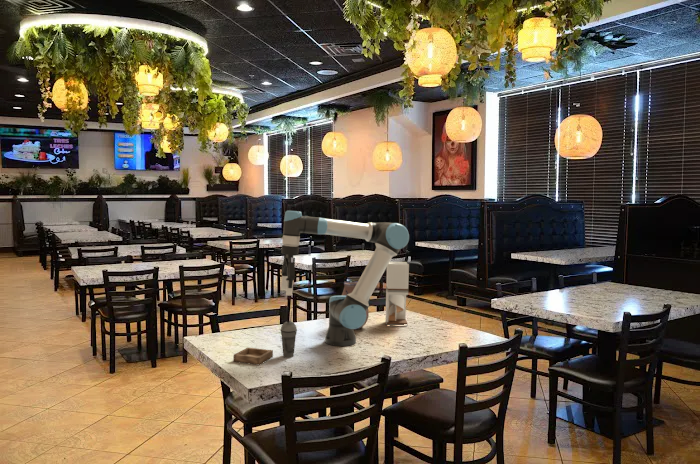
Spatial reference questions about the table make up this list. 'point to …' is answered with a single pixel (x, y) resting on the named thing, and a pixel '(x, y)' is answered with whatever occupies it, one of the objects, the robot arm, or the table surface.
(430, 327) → the table surface
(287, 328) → the beverage cup
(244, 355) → the wooden tray
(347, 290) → the ceramic pitcher
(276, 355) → the table surface
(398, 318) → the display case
